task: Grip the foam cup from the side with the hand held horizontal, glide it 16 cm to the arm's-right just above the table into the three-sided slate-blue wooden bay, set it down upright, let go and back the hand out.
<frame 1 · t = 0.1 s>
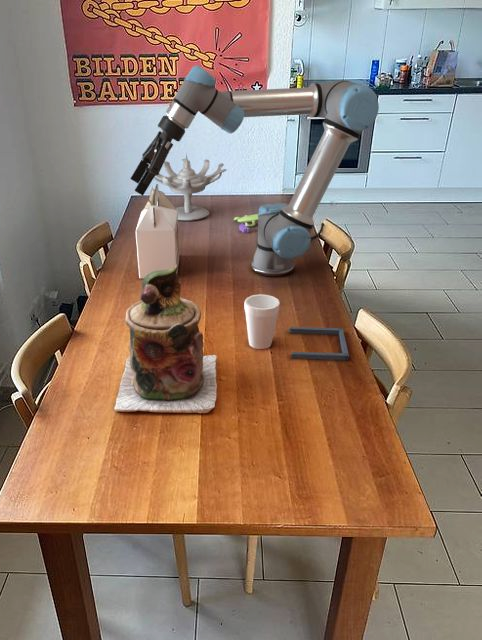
hand: (136, 187, 172), 36 cm above the table, tool tilted 35°, fingers open, 13 cm apart
bay: (317, 345, 163), on the table
cookie jar: (168, 387, 147), on the table
gable box: (160, 267, 213), on the table
candelabra: (188, 216, 263), on the table
toy airplane: (264, 227, 247), on the table
foam cup: (260, 344, 164), on the table
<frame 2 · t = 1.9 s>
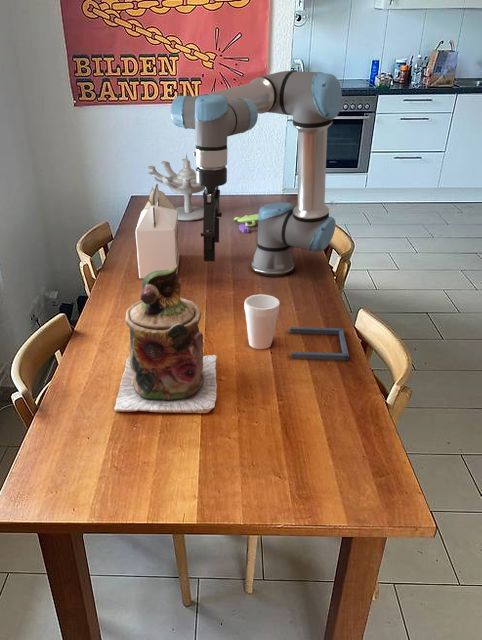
hand: (211, 251, 151), 27 cm above the table, tool pointing down, fingers open, 13 cm apart
nothing on the table moved.
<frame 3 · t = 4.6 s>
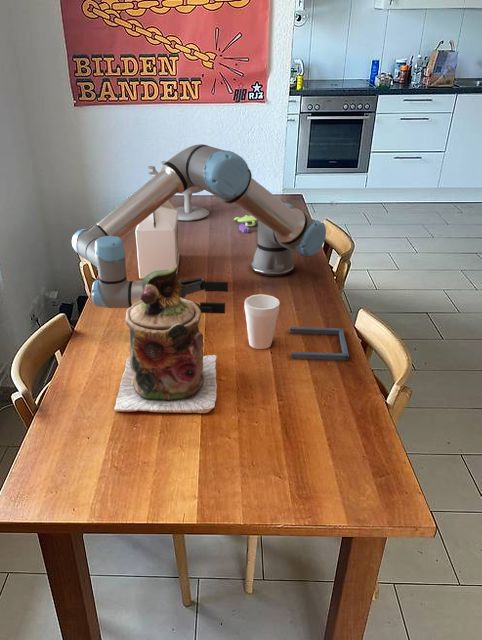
hand: (226, 297, 157), 14 cm above the table, tool horizontal, fingers open, 13 cm apart
nothing on the table moved.
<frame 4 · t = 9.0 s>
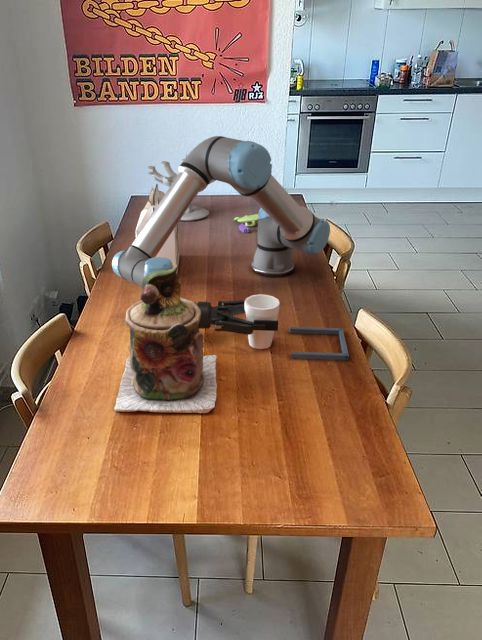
hand: (277, 317, 159), 8 cm above the table, tool horizontal, fingers closed on foam cup, 9 cm apart
foam cup: (260, 344, 164), on the table, touching gripper
everything else where it was.
when the fingers open (8 cm above the table, at t = 16.9 s): foam cup stays where it is, on the table.
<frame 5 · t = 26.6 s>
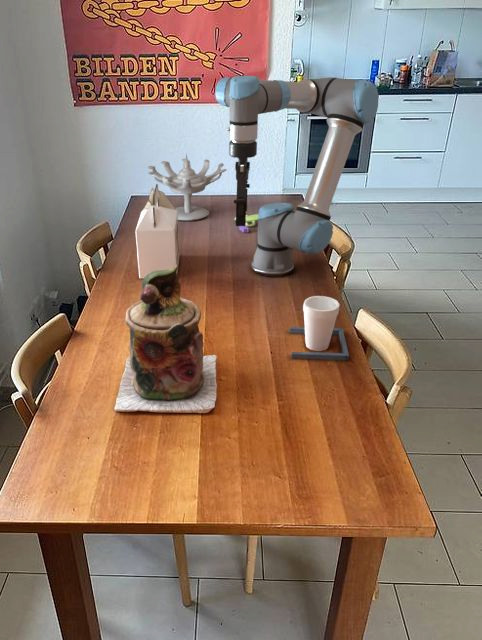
hand: (241, 218, 168), 29 cm above the table, tool pointing down, fingers open, 13 cm apart
foam cup: (317, 345, 163), on the table
everything else where it was.
at the end: foam cup 0.1 cm from the bay (horizontally); foam cup tilted 0°; the gripper is holding nothing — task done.
